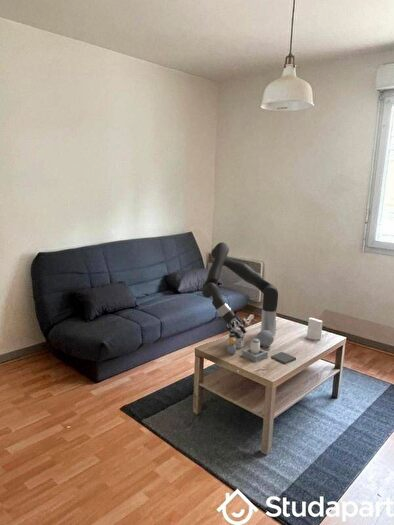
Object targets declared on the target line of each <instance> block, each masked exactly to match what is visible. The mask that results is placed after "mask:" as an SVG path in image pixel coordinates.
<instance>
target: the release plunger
mask: <svg viewBox="0 0 394 525" xmlns="http://www.w3.org/2000/svg"><path fill="white" fill-rule="evenodd" d="M228 342H229V344H235V342H236V339H235V338H233V337H230V338H229V337H228Z"/></svg>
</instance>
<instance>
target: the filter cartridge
mask: <svg viewBox="0 0 394 525" xmlns="http://www.w3.org/2000/svg"><path fill="white" fill-rule="evenodd" d="M250 348H251V353H252V354H254V355H257V354H259V352H260V349H261V345H260V340H259V339H257V337H256V338H255V337H254V338H252V339H251V343H250Z"/></svg>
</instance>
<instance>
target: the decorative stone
mask: <svg viewBox="0 0 394 525" xmlns="http://www.w3.org/2000/svg"><path fill="white" fill-rule="evenodd" d="M256 339H259V340H260V347H265V348H267V347H270V346H271V345H272V344H273V342H274V336H273V335H272V333H271V332H270V331H268V330H262V331H261V330H260V331H259V332H258V334H257V336H256Z"/></svg>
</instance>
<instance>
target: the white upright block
mask: <svg viewBox="0 0 394 525" xmlns="http://www.w3.org/2000/svg"><path fill="white" fill-rule="evenodd" d="M307 323H308V324H307V330H306V333H307V334H306V337H307V338H308V339H310V338H311V340H314V339H318V340H321V339H322V334H323V332H322V331H323V320H321V319H317V318H314V317H309V318H308V322H307Z"/></svg>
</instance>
